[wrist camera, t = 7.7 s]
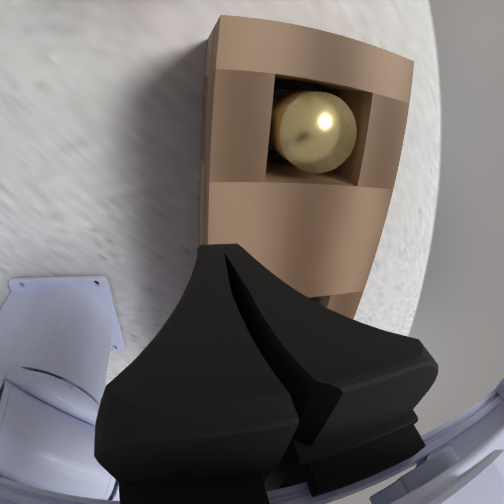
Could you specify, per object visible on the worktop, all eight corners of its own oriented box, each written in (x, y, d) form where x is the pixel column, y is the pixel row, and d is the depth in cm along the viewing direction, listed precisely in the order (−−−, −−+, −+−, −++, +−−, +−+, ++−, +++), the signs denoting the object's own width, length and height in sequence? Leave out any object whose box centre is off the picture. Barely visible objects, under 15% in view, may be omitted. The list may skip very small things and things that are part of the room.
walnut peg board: (201, 327, 25) (210, 383, 20) (207, 38, 14) (220, 15, 9) (309, 316, 27) (335, 363, 22) (356, 61, 16) (413, 61, 11)
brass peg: (249, 148, 18) (275, 171, 13) (254, 86, 16) (284, 85, 11) (308, 151, 19) (349, 175, 14) (315, 94, 17) (361, 99, 12)
